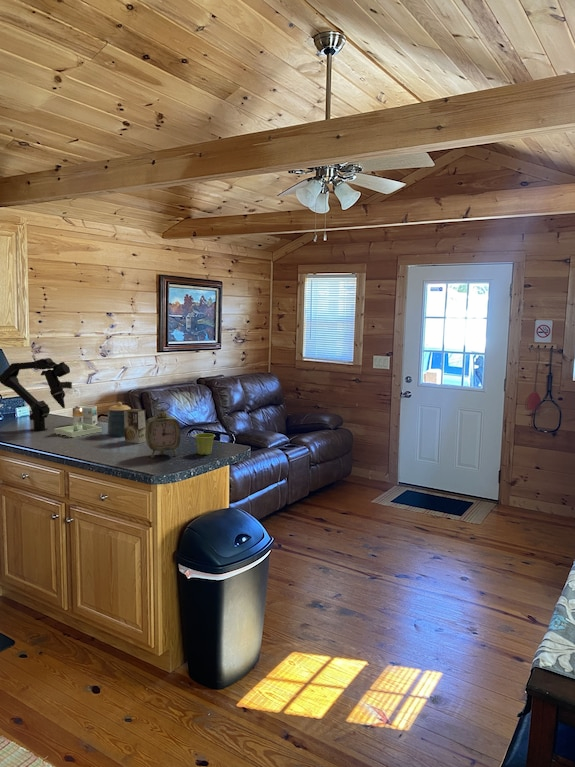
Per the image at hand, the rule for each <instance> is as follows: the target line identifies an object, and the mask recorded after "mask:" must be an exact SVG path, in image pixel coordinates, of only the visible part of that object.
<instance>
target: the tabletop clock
mask: <svg viewBox="0 0 575 767" xmlns="http://www.w3.org/2000/svg"><path fill="white" fill-rule="evenodd" d="M160 404H161V405H162V404H166V405H167V406H168V408H165V409H164V407H161V408H160V409H158V408H157V406H158V405H160ZM169 409H171V405H170V403H168V402H166V401H158V402H157V403H155V405H154V410H155V411H157V412H158V413H156V416H153V417H149V418H148V419H146V431H145V434H146V441H145V442H146V443H147V446H148V447H149V449H150V450H152V454H150V458H152V459H153V458H154V457H155V455H154V454H155V451H156V452H157V451H158V452H159V451H160V452H159V454H160V455H161V456H162V455H164V451H169V450H172V452H173V456H175V457H176V456H178V452H177V451H176V450H175V449H177V448H179V445H180V443H181V427H180V422H179V420H178V419H177V418H175V417H174V416H171V415H170V416H169V415H168V413H167V412H166V411H168V410H169Z"/></svg>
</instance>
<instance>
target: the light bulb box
mask: <svg viewBox="0 0 575 767" xmlns="http://www.w3.org/2000/svg"><path fill="white" fill-rule="evenodd" d="M79 406H80V407H82V408H83V424H89V425H94V426H97V425H98V409H97V407H98V406H96V405H95V406H94V405H92V406H91V405H79ZM96 424H97V425H96Z"/></svg>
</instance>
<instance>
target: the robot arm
mask: <svg viewBox="0 0 575 767" xmlns="http://www.w3.org/2000/svg"><path fill="white" fill-rule="evenodd" d="M29 369H37V370H41V373H40V376H44V377H45V379H46V382H47V384H48V388H49V389H50V391H49V393H50V395H51V397H52V398H53V399H54V400H55V401H56V402H57V403H58V405H59V406H60V407H61V408H62V409H65V408H66V406H65V405H66V404H65V396H66V392H65V390H64V389H73V382H71V381H60V379H59V378H61V377H63V376H66V375H67V374H70V372H71V369H70V366H69V365H68V364H66V363H65V361H61V362H59V363H56V362H55V361H53V359H52V358H49V357H46V358H41V359H36V360H35V361H25V362H13V363H10V364H9V366H8V367H7V368H6V369H5V370H4V371H3V372H2V374H0V384H1V385H3V386H5V387H7V388H8V389H10V390H12V391H14V393H16V395H18V397H20V398H21V399H22V400H23V401H24V402H25V403H26V404H27V405H28V406H29V407H30V411H31V414H30V415H28V418H29V420H30V421H32V427H33V428H30V430H31V431H34V432H41V431H46V430H48V428H46V420H45V419H46V418H48V416H49V414H50V411H51V408H50V406H49V404H47V403H46V401H45V400H38V399H36V398H35V397H34V396H33V395H32V394H31V393H30V392H29V391H28V390H27V389H26V388H25V387H24V386H23V385H22V384H20V381H19V378H18V376H19V373H20V371H21V370H29Z"/></svg>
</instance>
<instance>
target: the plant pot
mask: <svg viewBox="0 0 575 767" xmlns="http://www.w3.org/2000/svg"><path fill="white" fill-rule="evenodd" d="M215 437H216V435H215V434H214V433H205V432H202V433H197V434H194V438H195V441H196V446H197V447H196V448H197V454H199V455H200V456H202V455H206V456H208V455H211V454H212V450H213V444H214V440H215V439H214V438H215Z"/></svg>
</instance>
